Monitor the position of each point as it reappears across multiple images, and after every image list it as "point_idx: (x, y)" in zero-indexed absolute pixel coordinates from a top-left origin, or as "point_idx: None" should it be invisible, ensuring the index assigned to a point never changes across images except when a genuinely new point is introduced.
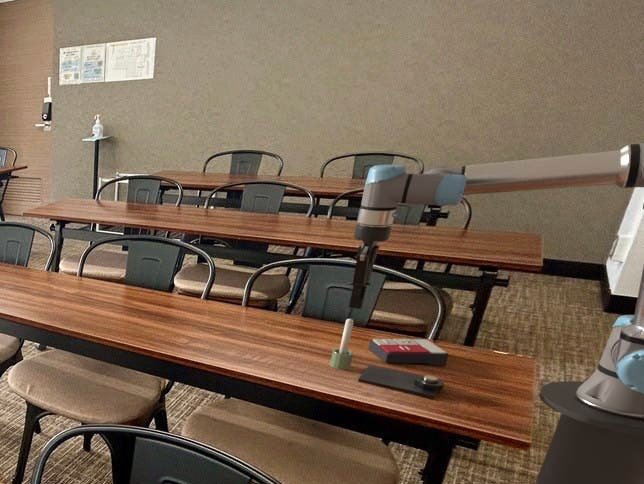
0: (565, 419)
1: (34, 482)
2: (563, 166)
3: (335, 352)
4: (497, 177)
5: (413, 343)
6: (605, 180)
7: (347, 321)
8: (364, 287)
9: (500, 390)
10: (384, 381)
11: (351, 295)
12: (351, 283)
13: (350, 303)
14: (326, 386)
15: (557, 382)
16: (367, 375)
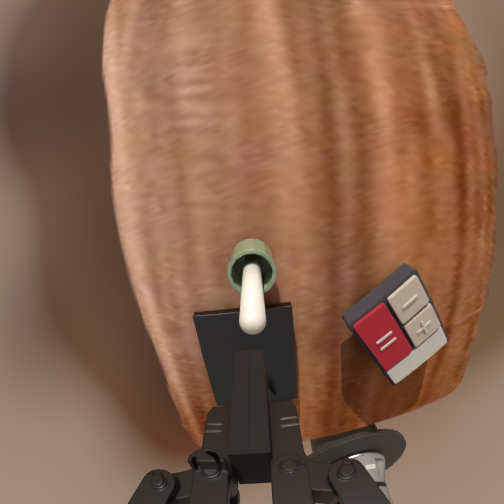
0: (336, 437)
1: None
2: None
3: (231, 261)
4: None
5: (419, 339)
6: None
7: (240, 319)
8: (238, 479)
9: (336, 422)
10: (216, 350)
11: (232, 398)
12: (199, 463)
13: (235, 368)
14: (149, 268)
15: (392, 434)
16: (223, 322)
